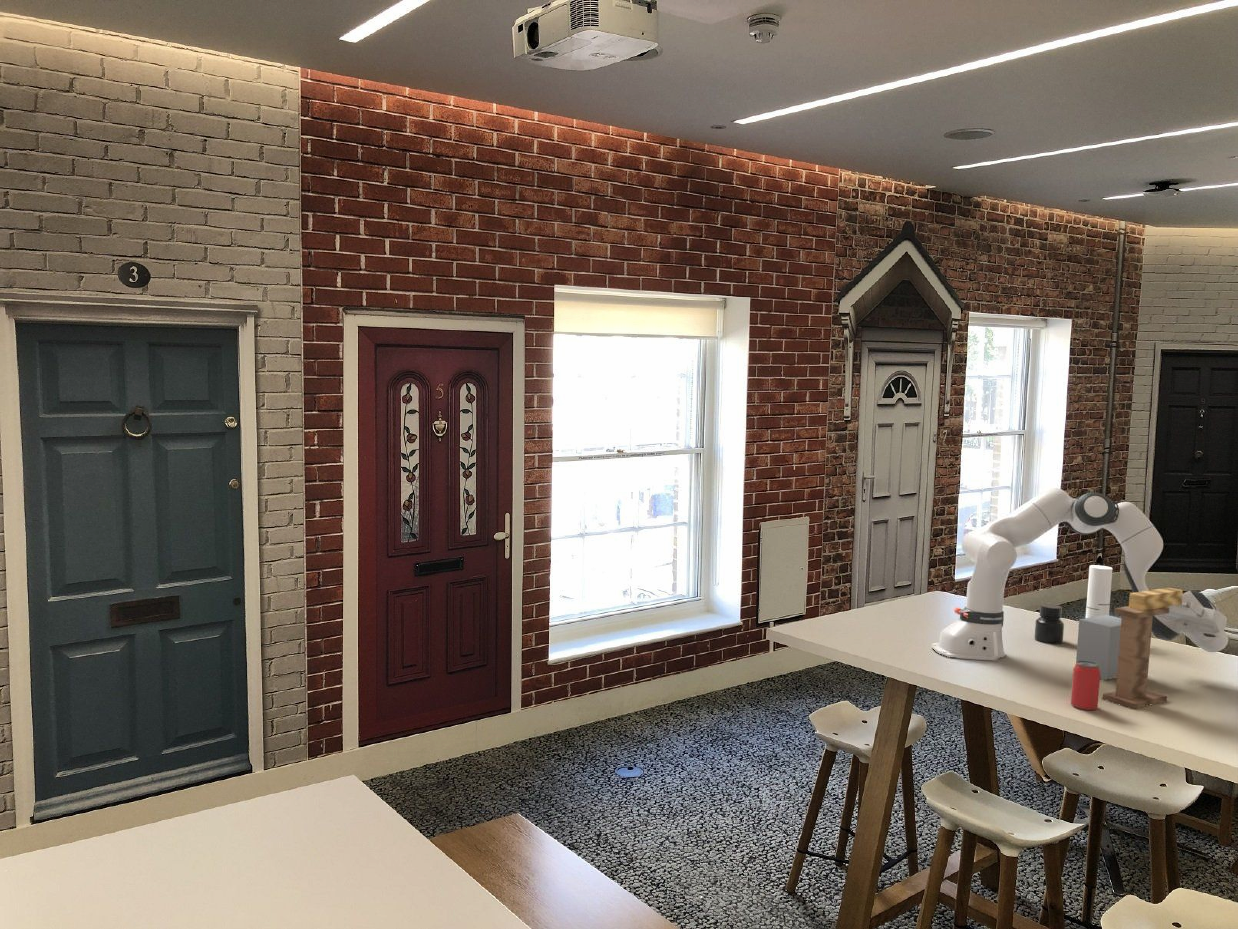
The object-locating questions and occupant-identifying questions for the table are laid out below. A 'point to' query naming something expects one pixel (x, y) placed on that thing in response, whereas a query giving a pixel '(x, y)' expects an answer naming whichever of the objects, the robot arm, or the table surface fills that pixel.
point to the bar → (1155, 598)
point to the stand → (1134, 659)
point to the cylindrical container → (1098, 591)
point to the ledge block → (1100, 643)
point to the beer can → (1085, 685)
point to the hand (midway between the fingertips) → (1172, 600)
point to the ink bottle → (1049, 624)
